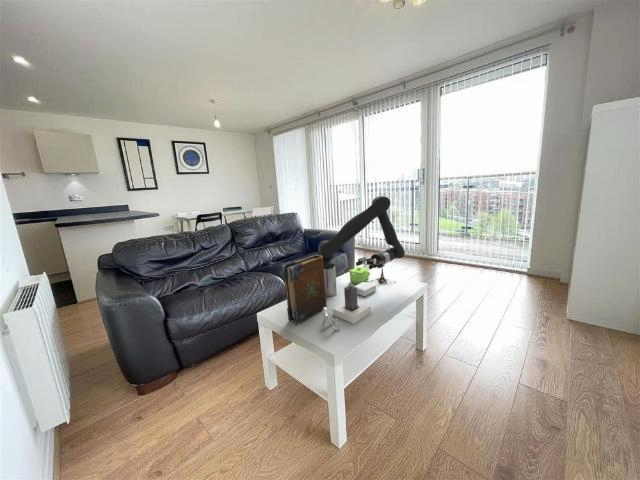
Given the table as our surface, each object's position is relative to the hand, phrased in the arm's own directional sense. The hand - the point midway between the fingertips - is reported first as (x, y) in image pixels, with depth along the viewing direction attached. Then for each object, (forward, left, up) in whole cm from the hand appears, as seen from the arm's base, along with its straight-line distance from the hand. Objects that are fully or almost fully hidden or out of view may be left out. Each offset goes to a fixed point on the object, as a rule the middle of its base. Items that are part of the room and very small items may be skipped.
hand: (362, 265), depth 135 cm
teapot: (-7, +33, -23) cm, 41 cm away
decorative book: (-27, -13, -23) cm, 38 cm away
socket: (-5, -10, -23) cm, 26 cm away
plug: (-5, -10, -23) cm, 25 cm away
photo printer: (-5, +13, -21) cm, 25 cm away
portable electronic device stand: (-13, -24, -23) cm, 36 cm away
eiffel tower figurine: (+8, +36, -24) cm, 44 cm away
